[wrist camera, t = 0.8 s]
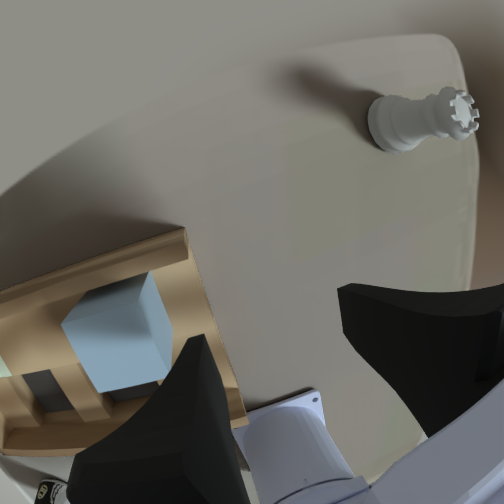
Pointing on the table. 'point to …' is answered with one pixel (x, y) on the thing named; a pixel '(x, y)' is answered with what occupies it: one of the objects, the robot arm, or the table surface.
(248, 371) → the table surface
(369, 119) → the rook chess piece
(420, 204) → the table surface
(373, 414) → the table surface
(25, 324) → the board
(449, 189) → the table surface
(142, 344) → the blue block
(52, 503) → the beverage can
